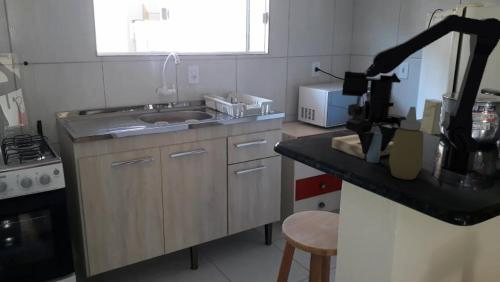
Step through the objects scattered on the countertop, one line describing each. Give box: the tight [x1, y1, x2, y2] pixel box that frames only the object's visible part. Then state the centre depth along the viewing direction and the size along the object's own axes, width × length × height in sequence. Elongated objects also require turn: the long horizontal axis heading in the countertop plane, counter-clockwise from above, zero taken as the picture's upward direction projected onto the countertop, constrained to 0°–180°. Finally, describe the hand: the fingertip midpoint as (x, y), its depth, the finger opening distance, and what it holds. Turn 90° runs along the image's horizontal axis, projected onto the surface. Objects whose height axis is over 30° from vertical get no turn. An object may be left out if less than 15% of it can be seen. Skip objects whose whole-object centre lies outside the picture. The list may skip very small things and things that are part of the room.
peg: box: [365, 131, 382, 164], centre depth 117 cm, size 4×4×8 cm
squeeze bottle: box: [388, 106, 424, 181], centre depth 104 cm, size 8×8×18 cm
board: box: [331, 134, 393, 160], centre depth 129 cm, size 14×14×3 cm
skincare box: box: [419, 98, 443, 136], centre depth 153 cm, size 6×4×12 cm
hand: (373, 152), depth 118 cm, fingers open, 7 cm apart
